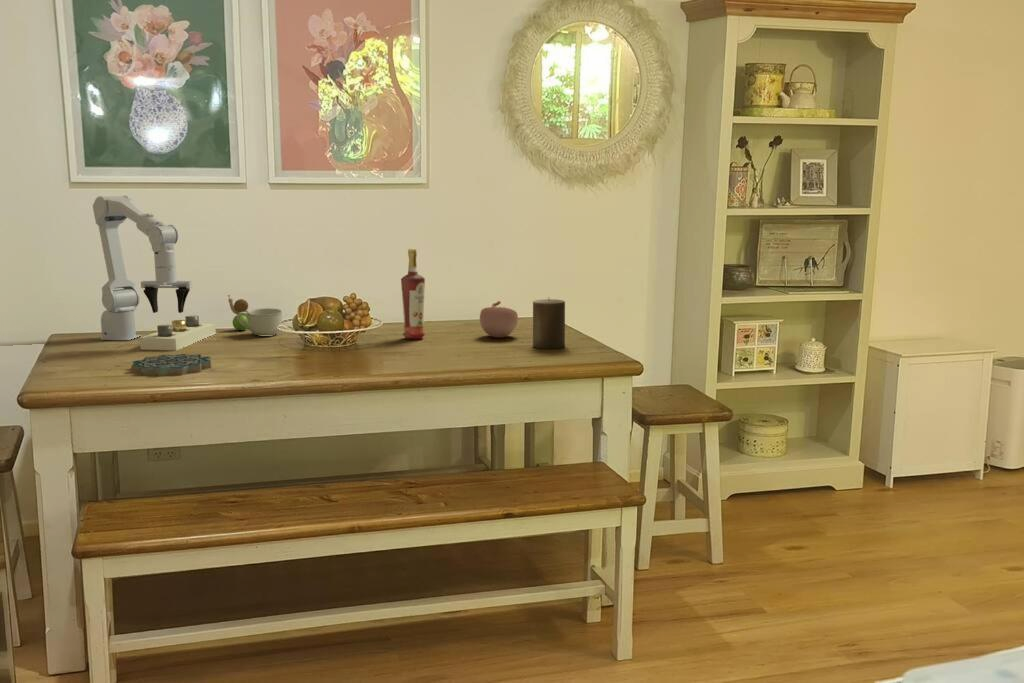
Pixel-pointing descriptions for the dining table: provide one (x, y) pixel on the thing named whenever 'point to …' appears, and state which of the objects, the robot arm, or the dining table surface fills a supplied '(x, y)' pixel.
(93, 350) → the dining table surface
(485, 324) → the pink decorative apple
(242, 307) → the snail figurine
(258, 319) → the teacup
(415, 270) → the liquor
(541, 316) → the pillar candle
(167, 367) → the decorative tile
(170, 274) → the robot arm
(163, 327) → the knob near
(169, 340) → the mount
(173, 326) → the knob brass
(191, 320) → the knob far
